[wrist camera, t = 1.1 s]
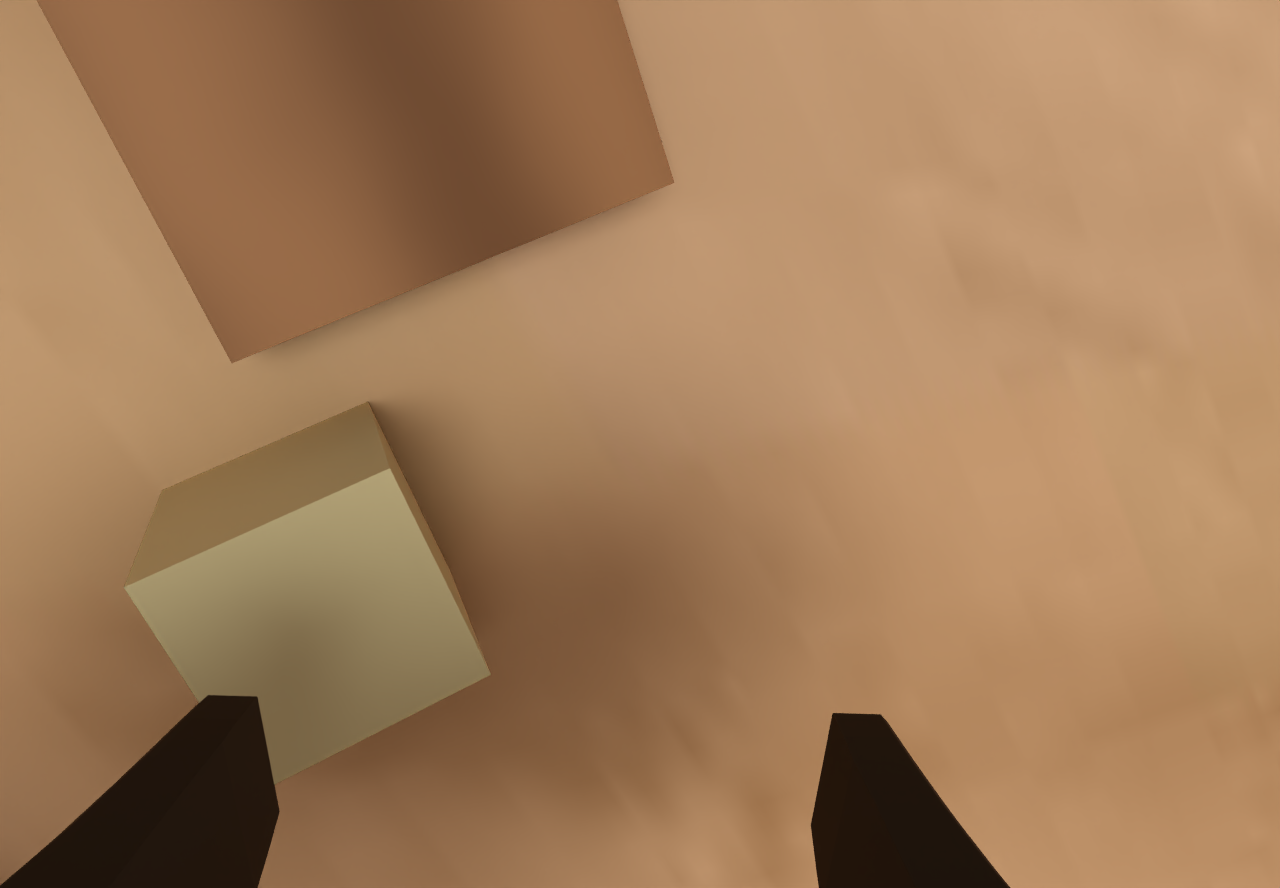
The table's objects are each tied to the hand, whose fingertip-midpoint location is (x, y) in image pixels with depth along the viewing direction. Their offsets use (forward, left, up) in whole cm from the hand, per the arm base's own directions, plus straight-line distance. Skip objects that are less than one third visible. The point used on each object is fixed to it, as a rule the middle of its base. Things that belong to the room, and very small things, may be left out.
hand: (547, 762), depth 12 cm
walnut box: (+2, +9, -11) cm, 15 cm away
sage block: (-3, 0, -11) cm, 11 cm away
